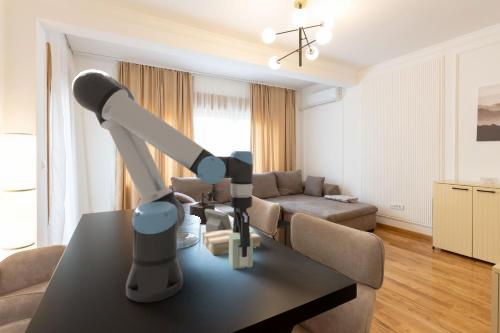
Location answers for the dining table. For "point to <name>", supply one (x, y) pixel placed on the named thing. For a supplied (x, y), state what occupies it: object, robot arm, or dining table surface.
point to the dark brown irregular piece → (202, 207)
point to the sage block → (238, 251)
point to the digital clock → (217, 220)
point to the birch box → (223, 241)
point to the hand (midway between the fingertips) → (240, 259)
